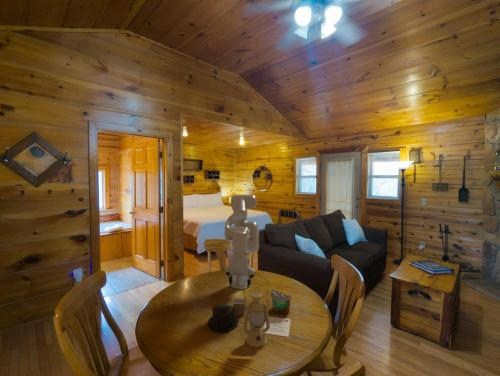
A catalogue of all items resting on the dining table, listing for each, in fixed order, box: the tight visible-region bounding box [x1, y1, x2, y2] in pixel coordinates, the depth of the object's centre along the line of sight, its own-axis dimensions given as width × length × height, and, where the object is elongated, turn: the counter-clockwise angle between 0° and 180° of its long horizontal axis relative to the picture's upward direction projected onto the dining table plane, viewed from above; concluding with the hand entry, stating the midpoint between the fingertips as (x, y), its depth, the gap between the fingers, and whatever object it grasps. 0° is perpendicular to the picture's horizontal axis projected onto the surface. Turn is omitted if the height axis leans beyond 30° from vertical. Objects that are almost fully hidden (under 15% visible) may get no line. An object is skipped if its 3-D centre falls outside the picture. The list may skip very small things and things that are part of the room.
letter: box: [262, 316, 292, 338], centre depth 119 cm, size 14×12×1 cm
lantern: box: [242, 272, 270, 348], centre depth 107 cm, size 12×10×30 cm
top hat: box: [207, 304, 240, 334], centre depth 121 cm, size 15×15×10 cm
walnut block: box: [232, 297, 247, 316], centre depth 131 cm, size 6×6×6 cm
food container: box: [270, 288, 292, 315], centre depth 131 cm, size 12×6×10 cm, turn 47°
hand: (239, 284), depth 132 cm, fingers open, 9 cm apart
